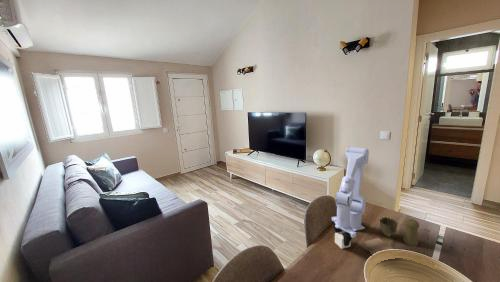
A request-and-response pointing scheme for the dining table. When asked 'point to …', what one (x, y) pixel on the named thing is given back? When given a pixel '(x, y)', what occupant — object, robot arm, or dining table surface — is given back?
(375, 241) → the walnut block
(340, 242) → the offwhite cube
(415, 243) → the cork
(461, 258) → the dining table surface
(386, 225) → the cup
